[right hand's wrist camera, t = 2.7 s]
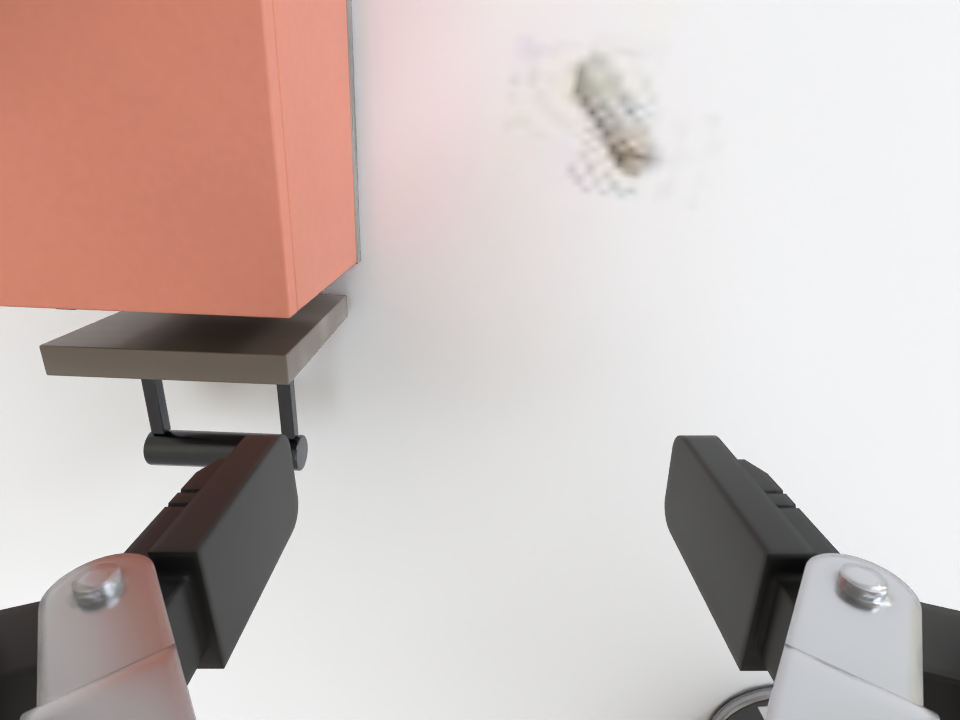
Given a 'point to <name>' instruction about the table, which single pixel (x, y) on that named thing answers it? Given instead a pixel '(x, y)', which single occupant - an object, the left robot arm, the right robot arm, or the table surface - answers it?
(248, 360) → the drawer
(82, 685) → the right robot arm
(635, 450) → the table surface
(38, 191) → the cabinet
